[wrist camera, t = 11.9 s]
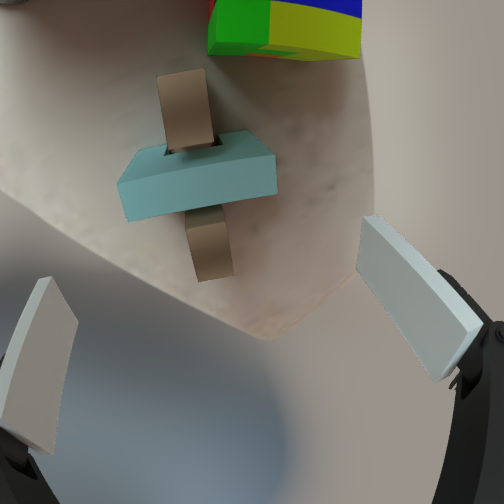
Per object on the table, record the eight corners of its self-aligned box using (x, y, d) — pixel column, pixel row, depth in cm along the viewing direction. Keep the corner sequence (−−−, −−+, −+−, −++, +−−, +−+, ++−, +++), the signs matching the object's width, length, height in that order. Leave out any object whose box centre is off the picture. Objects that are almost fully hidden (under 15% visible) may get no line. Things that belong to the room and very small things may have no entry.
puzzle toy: (311, -21, 19) (361, -49, 11) (308, 61, 25) (359, 58, 16) (211, -32, 17) (223, -76, 9) (206, 55, 23) (215, 41, 15)
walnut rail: (167, 78, 23) (156, 76, 15) (199, 73, 23) (204, 67, 15) (194, 225, 32) (198, 282, 24) (220, 220, 33) (234, 275, 24)
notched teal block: (144, 177, 28) (128, 222, 20) (138, 150, 26) (116, 184, 18) (250, 158, 29) (277, 194, 21) (247, 130, 28) (275, 154, 19)
